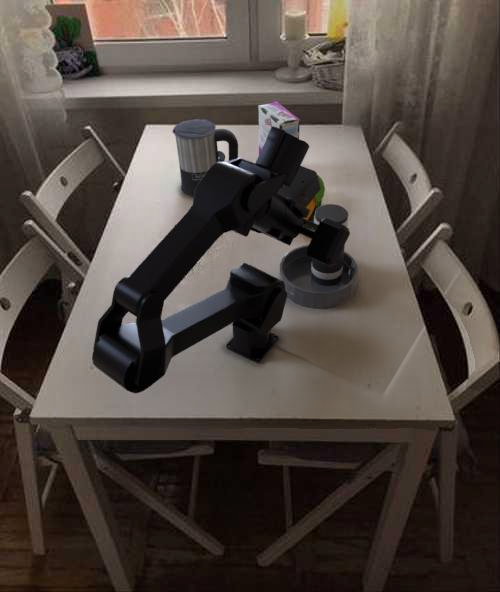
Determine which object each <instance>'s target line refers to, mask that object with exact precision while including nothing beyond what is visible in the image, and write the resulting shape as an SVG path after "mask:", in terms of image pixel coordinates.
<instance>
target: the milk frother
mask: <svg viewBox="0 0 500 592" xmlns="http://www.w3.org/2000/svg"><path fill="white" fill-rule="evenodd" d="M172 133H173V135H174V137H175V143H176V149H177V157H178V163H179V164H178V165H179V174H180V184H181V185H180V191H181V192H182V193H183V194H184V195H185V196H187V197H189V198H190V197H191V198H194V192H195V188H196V187H197V185H198V184H199V182H200V181H201V180H202V178H203V177H204V175H205V174H206V172H207V171H208V170H209V169H210V167H211V166H213V165H214V164H215V163H217V162H226V161H225V160H226V154H225V153H224V152H223V151H221V150H218V149H219V148H218V142H226V143H227V144H228V162H229V161H231V160H234V159H237V158H239V142H238V139H237V137H236V135H235V134H234V133H233V132H232V131H231V130H229V129H228V128H227V129H226V128H216V124H215V123H214V122H213V121H211V120H208V119H204V118H193V119H192V118H191V119H187V120H183V121H180V122H179V123H177V124H176V125H175V126H174V127H173V129H172Z"/></svg>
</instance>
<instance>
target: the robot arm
mask: <svg viewBox="0 0 500 592" xmlns="http://www.w3.org/2000/svg"><path fill="white" fill-rule="evenodd" d="M309 149H310V145H309V143H308V142H307V141H305V140H302V139H300V138H299V139H298V138H296V137H294V136H293V135H291V134H288V133H287V132H286V131H285V130H283V129H280V128H277V127H274V126H272V127H271V129H270V131H269V133H268V136H267V139H266V142H265V144H264V146H263V148H262V150H261V152H260V154H259V153H258V156H257V159H256V161H255V162H253V161H250V160H248V159H245V158H243V157H240V156H238V158H237V159H234V160H231V161H229V160H228V161H224V162H217V163H215V164H214V165H213V166H211V167H210V169H209V170H208V171H207V172H206V174H205V175H204V177H203V178H202V180H201V181H200V182H199V184H198V185H197V187H196V188H195V192H194V197H192V199H193V200H192V205H191V206H190V207H189V209H188V211H186V213H185V214H184V215H183V216H182V217H181V218H180V220H178V222H177V223H175V225H174V226H173V227H172V228H171V229H170V230H169V231H168V233H167V234H166V235H165V236H164V237H163V239H161V240H160V242H158V244H157V245H156V246H155V247H154V248H153V250H151V251H150V252H149V254H147V256H146V257H145V258H144V259H143V260H142V262H141V263H140V264H139V265H138V266H137V267H136V268H135V269H134V270H133V271H132V272H131V274H130V275H127V276H124V277H122V278H121V279H120V280H119V281H118V282H117V284H116V285H115V287H114V290H113V293H112V299H111V304H110V306H108V308H107V309H106V310H105V312H104V313H103V314H102V316H101V317H100V318H99V319H98V322H97V325H96V330H95V331H96V332H95V337H94V342H93V351H92V357H91V360H92V364H93V366H94V367H95V368H96V369H97V370H99V371H100V372H101V373H103V374H104V375H106V376H107V377H108V378H110V379H111V380H112V381H113V382H115V383H116V384H118V385H119V386H120V387H121V388H122V389H124V390H125V391H127V392H129V393H133V394H134V395H135V394H139V393H142V392H144V391H145V390H147V389H149V388H150V387H152V386H153V385H154V384H155V383H156V382H158V381H159V380H161V379H162V378H163V377H164V376H165V375H166V373H167V371H168V368H169V365H170V364H171V361H172V359H173V358H174V357H175V356H177V355H179V354H180V353H182V352H184V351H186V350H188V349H190V348H191V347H193V346H195V345H197V344H198V343H200V342H202V341H203V340H205V339H207V338H209V337H210V336H213V335H215V334H217V332H219V331H221V330H223V329H225V328H226V327H228V326H230V325H232V338H231V339H230V340H229V341H228V342H227V343H226V344H225V348H226V349H227V350H229V351H231V352H233V353H236V354H238V355H239V356H242V357H244V358H246V359H248V360H250V361H253V362H254V363H260V362H261V361H262V360H263V359H264V357H265V356H266V355H267V354H268V353H269V351H270V350H271V349H272V348H273V347H274V346H275V344H276V343H277V341H278V340H279V335H277V334H274V333H272V329H273V328H274V327H275V326H277V325H278V324H279V323H280V322H281V321H282V318H283V313H284V310H285V306H286V302H287V299H288V298H287V292H286V291H285V283H284V281H282V280H280V278H278V277H275V276H274V275H272V274H270V273H267V272H265V271H264V270H263V269H259V268H258V267H256V266H254V265H252V264H248V263H246V262H244V263H242V264H241V265H240V266H238V267H236V268H232V269H231V270H230V271H229V275H230V276H229V277H228V280H227V284H226V286H225V288H224V289H221V290H220V291H218V292H216V293H214V294H211V295H209V296H208V297H205V298H204V299H201V300H200V301H197V302H195V303H193V304H192V305H190V306H187V307H186V308H183V309H181V310H179V311H177V312H175V313H173V314H171V315H169V316H167V317H165V318H163V319H162V314H163V309H164V306H165V305H164V304H165V301H166V299H168V297H169V296H170V295H171V294H172V293H173V292H174V290H175V289H177V287H178V286H179V284H180V283H181V282H183V280H184V279H185V277H186V276H187V275H188V274H189V273H190V272H191V271H192V270H193V268H194V267H195V266H196V265H197V263H199V261H201V259H202V258H203V256H204V255H206V253H207V252H208V251H209V250H210V248H211V247H212V246H213V245H214V244H215V243H216V242H217V240H218V239H219V238H221V236H222V235H224V234H225V233H229V232H235V233H237V234H239V235H241V236H243V237H248V236H249V234H250V232H251V231H252V232H255V233H257V234H263V235H265V236H267V237H269V238H273V239H274V240H276V241H278V242H281V243H283V244H285V245H287V246H289V247H290V246H291V245H292V242H293V241H294V239H296V238H297V237H298V236H299V235H302V236H305V237H307V238H309V239H311V240H310V242H309V244H308V245H309V246H308V248H307V256H309V257H311V258H313V259H315V260H317V261H319V262H321V263H323V264H326V265H328V266H333V265H335V263H336V261H337V259H338V257H339V255H340V253H341V251H342V249H343V247H344V245H345V246H346V243H347V241H348V239H349V237H350V235H351V232H350V229H349V227H348V226H347V227H346V226H345V225H342V224H340V223H337V222H335V221H333V220H330V219H328V218H324V219H323V220H321V221H320V223H319V225H318V224H315V223H313V222H311V220H309V219H308V220H306V219H304V217H305V218H307V216H308V214H309V212H310V210H309V209H308V208H306V207H307V206H308V205H309V204H310V202H311V201H312V199H313V198H314V197H315V195H316V194H317V193H318V192H319V191H320V189H321V186H320V182H319V179H318V176H319V175H318V173H317V171H316V170H314V169H311V168H308V167H305V166H303V165H302V163H303V162H304V159H305V158H306V155H307V153H308V151H309ZM317 175H318V176H317ZM308 228H310V230H309V229H308ZM314 231H315V232H314ZM128 313H129V314H131V315H133V316H134V317H136V320H135V322H130V323H126V324H123V320H124V318H125V316H126V315H127V314H128Z"/></svg>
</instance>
